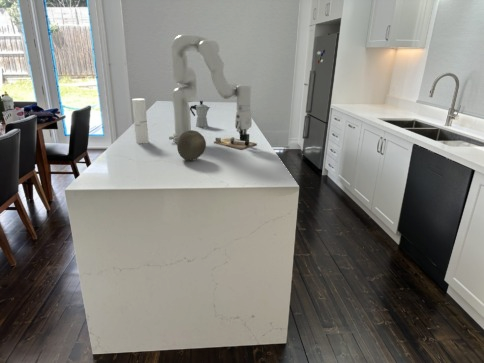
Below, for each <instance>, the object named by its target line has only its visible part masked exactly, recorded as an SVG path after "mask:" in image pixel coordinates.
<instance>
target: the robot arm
mask: <svg viewBox="0 0 484 363" xmlns="http://www.w3.org/2000/svg"><path fill="white" fill-rule="evenodd" d="M170 50H171V59H172V60H171V61H172V63H171V64H172V79H173V82H174V83H175V84H176V85H180V86H179V87H176V88H175V89H173V91H172V92H171V102H172V105H173V117H174V133H173V134H172V136H169V137H168V139H169V141H171V140H172V142H174V143H177V142H178V139H179V137H180V135H181V134H182V133H184V132H186V131H189V130H192V125H191V124H192V122H191V120H192V118H191V117H192V116H191V110H190V107H191V106H190V105H189V103H191V102H194V100H195V99H196V97H197V75H196V72H195V69H193V68H192V67H190V66H189V65H188V61H189V59H188V56H187V53H186V52H196V53H199V55H200V57H202V59H203V61H204V62H205V65H206V66H207V68H208V70H209V71H210V76H211V81H212V84H213V86H214V87H215V89H216V90H217V92H218V94H219V96H220V97H221V98H223V99H225V100H229V99H232V98H236V113H235V120H234V121H235V123H234V125H235V129H236V132H237V133H239V139H240V141H246V134H248V130H250V128H252V125H253V122H252V111H251V101H252V100H251V99H252V98H251V97H252V95H251V94H252V90H251V89H252V87H251V86H250V84H238V83H233V82H231V83H229V82H228V81H227V79H226V77H225V74H224V68H225V62H224V61H223V59H222V57H221V56H220V54H219V52H220V46H219V44H218V42H217V41H215V40H213V39H209V38H206V37H203V36H199V35H196V34H187V33H186V34H179V35H177V36H176V37H175V38H174V39H173V40H172V43H171V46H170Z"/></svg>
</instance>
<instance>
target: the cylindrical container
mask: <svg viewBox="0 0 484 363" xmlns="http://www.w3.org/2000/svg"><path fill="white" fill-rule="evenodd" d="M131 102H132V111H133V112H132V113H133V114H132V115H133V123H134V132H135V142H136V144H140V143H143V144H147V142H148V143H149V132H148V119H147V117H148V116H147V108H146V107H147V105H146V98H138V97H137V98H132V99H131Z"/></svg>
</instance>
